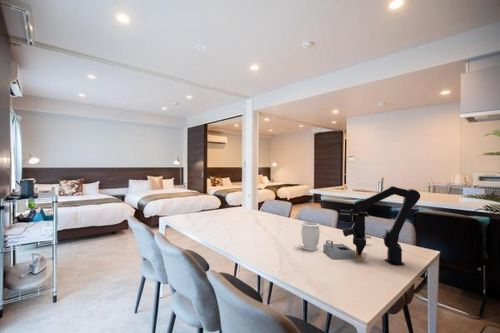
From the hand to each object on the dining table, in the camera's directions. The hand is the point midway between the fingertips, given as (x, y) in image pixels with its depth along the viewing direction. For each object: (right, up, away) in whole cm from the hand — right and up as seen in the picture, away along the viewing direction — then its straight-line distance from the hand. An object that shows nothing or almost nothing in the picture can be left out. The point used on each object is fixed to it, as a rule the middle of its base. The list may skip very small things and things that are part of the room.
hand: (359, 252), depth 130 cm
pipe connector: (+12, -3, +21) cm, 25 cm away
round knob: (0, -2, 0) cm, 2 cm away
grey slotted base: (-10, -2, +3) cm, 11 cm away
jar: (-24, -2, +13) cm, 27 cm away
